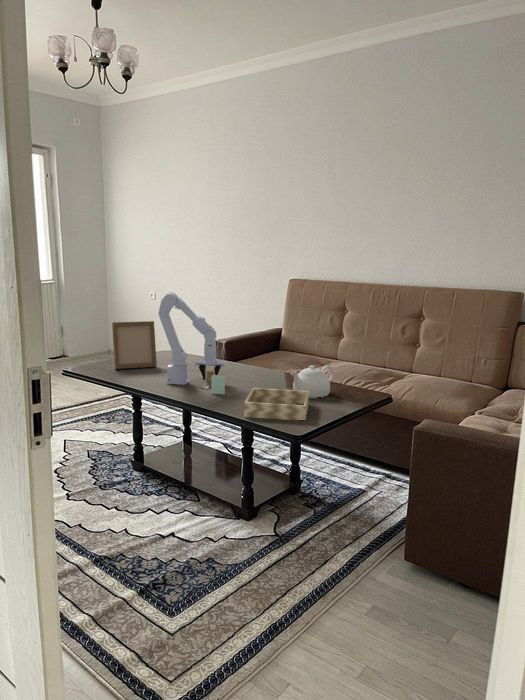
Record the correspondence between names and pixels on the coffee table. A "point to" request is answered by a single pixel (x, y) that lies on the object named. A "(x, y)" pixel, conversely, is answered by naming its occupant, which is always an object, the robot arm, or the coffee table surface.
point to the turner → (208, 379)
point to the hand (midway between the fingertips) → (210, 380)
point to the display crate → (276, 410)
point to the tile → (218, 384)
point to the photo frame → (134, 344)
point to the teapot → (313, 381)
